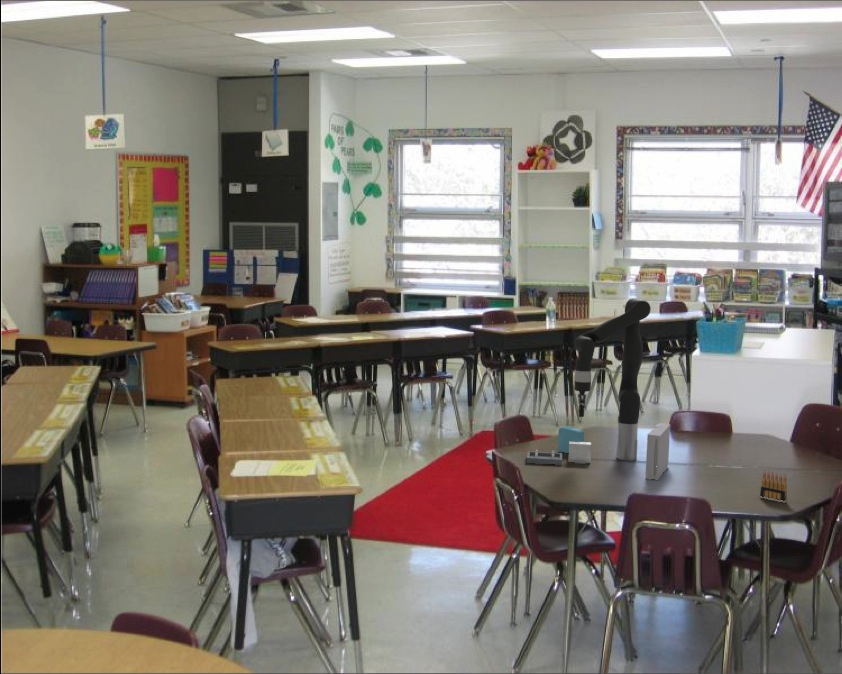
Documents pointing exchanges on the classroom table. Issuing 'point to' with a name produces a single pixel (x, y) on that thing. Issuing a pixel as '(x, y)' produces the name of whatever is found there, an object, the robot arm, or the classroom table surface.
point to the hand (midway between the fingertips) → (581, 414)
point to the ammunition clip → (773, 486)
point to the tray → (544, 458)
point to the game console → (657, 451)
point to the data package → (569, 437)
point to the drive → (579, 452)
